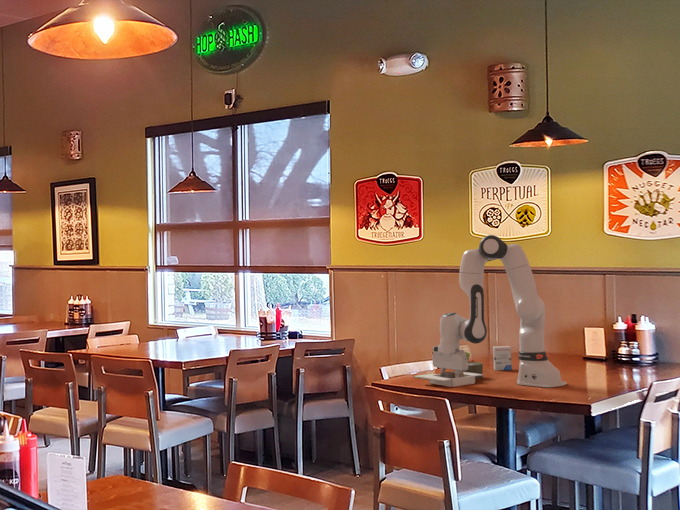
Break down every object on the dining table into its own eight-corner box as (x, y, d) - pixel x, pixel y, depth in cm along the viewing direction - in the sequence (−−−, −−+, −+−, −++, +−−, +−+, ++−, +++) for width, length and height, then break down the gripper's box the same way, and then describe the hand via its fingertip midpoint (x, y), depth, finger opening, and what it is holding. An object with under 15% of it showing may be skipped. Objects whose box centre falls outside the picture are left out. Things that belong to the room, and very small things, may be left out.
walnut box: (463, 382, 369) (463, 371, 369) (447, 385, 364) (447, 373, 364) (456, 381, 373) (456, 370, 373) (440, 383, 367) (440, 372, 367)
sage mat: (448, 377, 386) (448, 376, 386) (430, 380, 379) (430, 378, 379) (432, 374, 396) (431, 373, 396) (413, 377, 389) (413, 376, 389)
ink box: (510, 369, 410) (510, 345, 410) (511, 370, 405) (511, 346, 405) (493, 369, 411) (493, 346, 411) (494, 370, 406) (493, 347, 406)
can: (483, 376, 388) (483, 361, 389) (482, 379, 377) (482, 365, 377) (458, 375, 391) (458, 361, 391) (456, 379, 379) (456, 365, 379)
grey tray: (483, 382, 370) (483, 374, 370) (443, 388, 355) (443, 380, 355) (460, 378, 382) (460, 371, 382) (421, 384, 367) (420, 376, 367)
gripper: (471, 349, 361) (471, 380, 361) (439, 346, 378) (440, 375, 378) (460, 350, 358) (461, 382, 358) (429, 347, 374) (430, 377, 374)
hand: (450, 378), depth 368 cm, fingers open, 6 cm apart
